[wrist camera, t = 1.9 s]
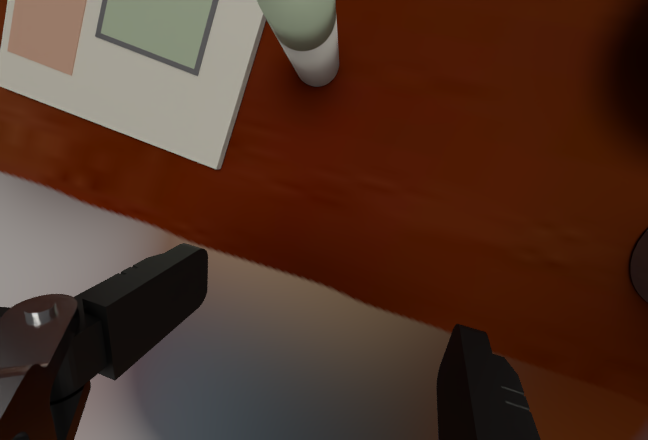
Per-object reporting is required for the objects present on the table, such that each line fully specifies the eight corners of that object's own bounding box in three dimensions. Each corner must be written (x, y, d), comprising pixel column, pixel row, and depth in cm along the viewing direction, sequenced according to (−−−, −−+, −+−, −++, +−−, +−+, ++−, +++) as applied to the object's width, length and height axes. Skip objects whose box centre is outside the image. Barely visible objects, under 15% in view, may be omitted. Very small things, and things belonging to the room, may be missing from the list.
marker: (345, 48, 26) (346, -43, 14) (329, 93, 27) (317, 41, 15) (303, 32, 26) (269, -73, 14) (289, 77, 27) (244, 13, 15)
